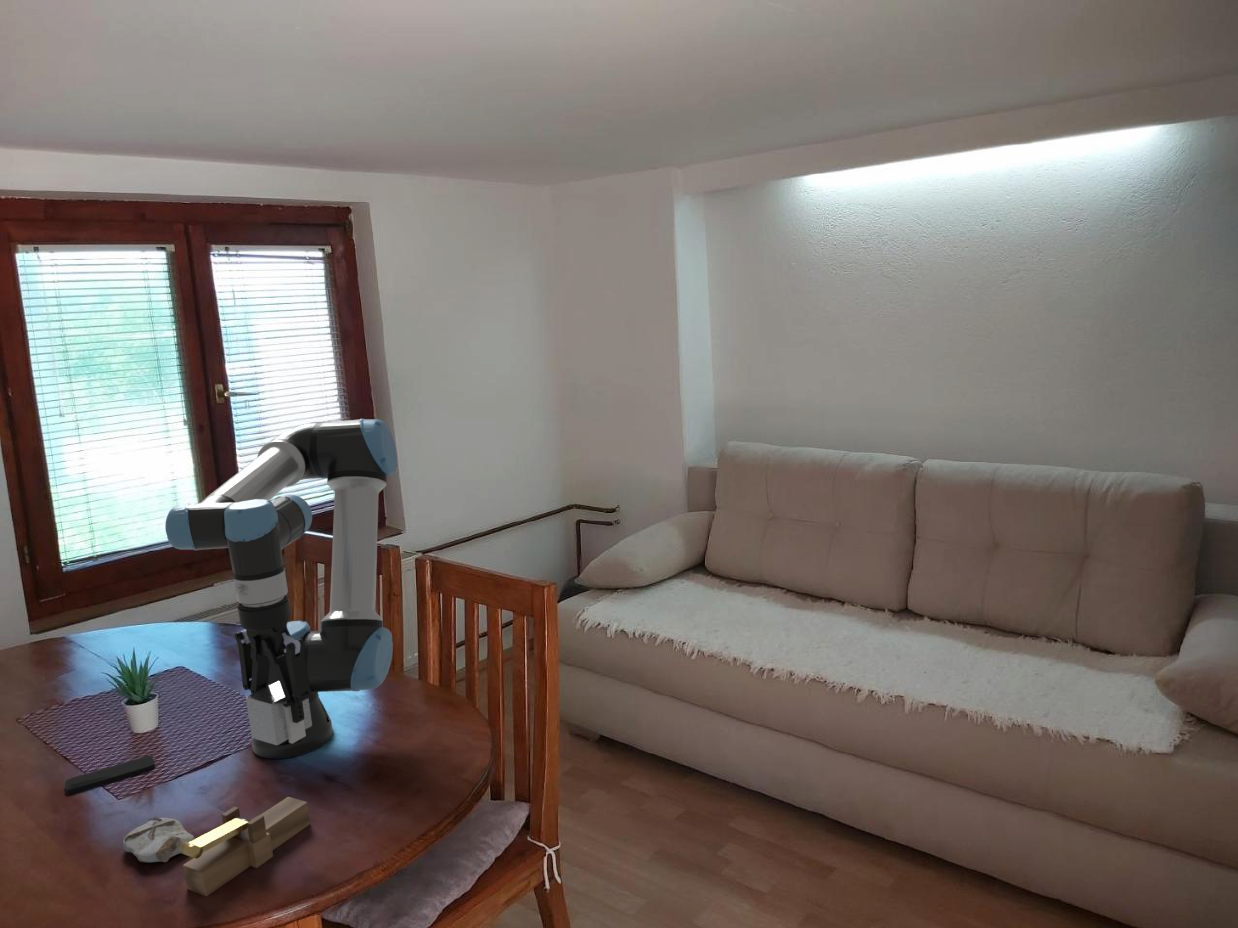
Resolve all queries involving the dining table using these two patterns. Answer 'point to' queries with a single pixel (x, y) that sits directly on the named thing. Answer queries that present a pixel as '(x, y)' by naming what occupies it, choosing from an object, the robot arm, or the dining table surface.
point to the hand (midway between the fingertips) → (283, 734)
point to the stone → (156, 840)
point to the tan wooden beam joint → (246, 845)
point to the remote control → (109, 774)
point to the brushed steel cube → (271, 714)
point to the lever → (213, 837)
